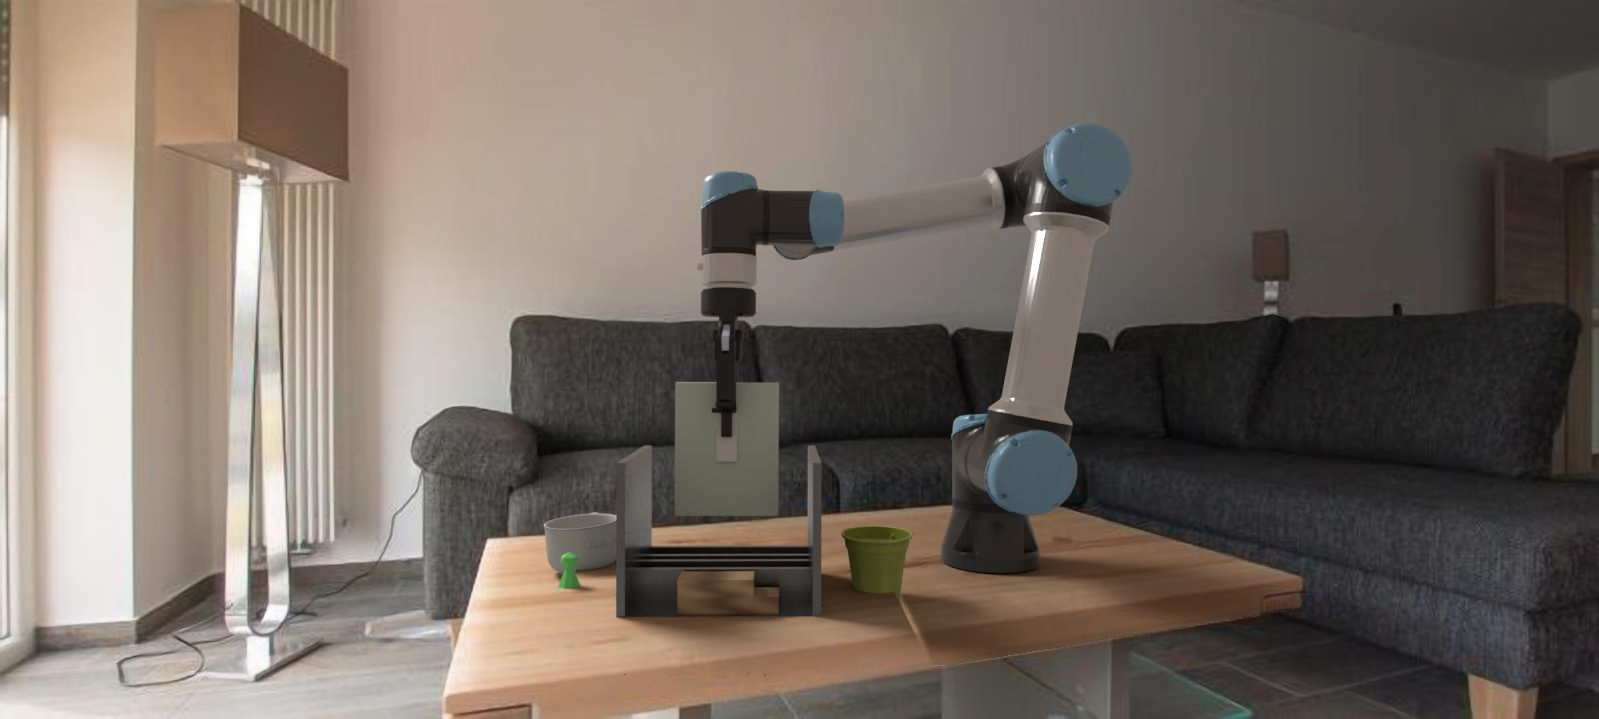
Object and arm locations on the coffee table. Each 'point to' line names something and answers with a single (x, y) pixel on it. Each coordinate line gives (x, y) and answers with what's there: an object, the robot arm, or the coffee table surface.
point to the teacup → (582, 540)
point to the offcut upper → (716, 584)
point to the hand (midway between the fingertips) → (727, 459)
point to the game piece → (569, 572)
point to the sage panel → (726, 482)
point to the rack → (706, 553)
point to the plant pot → (877, 557)
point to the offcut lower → (732, 603)
